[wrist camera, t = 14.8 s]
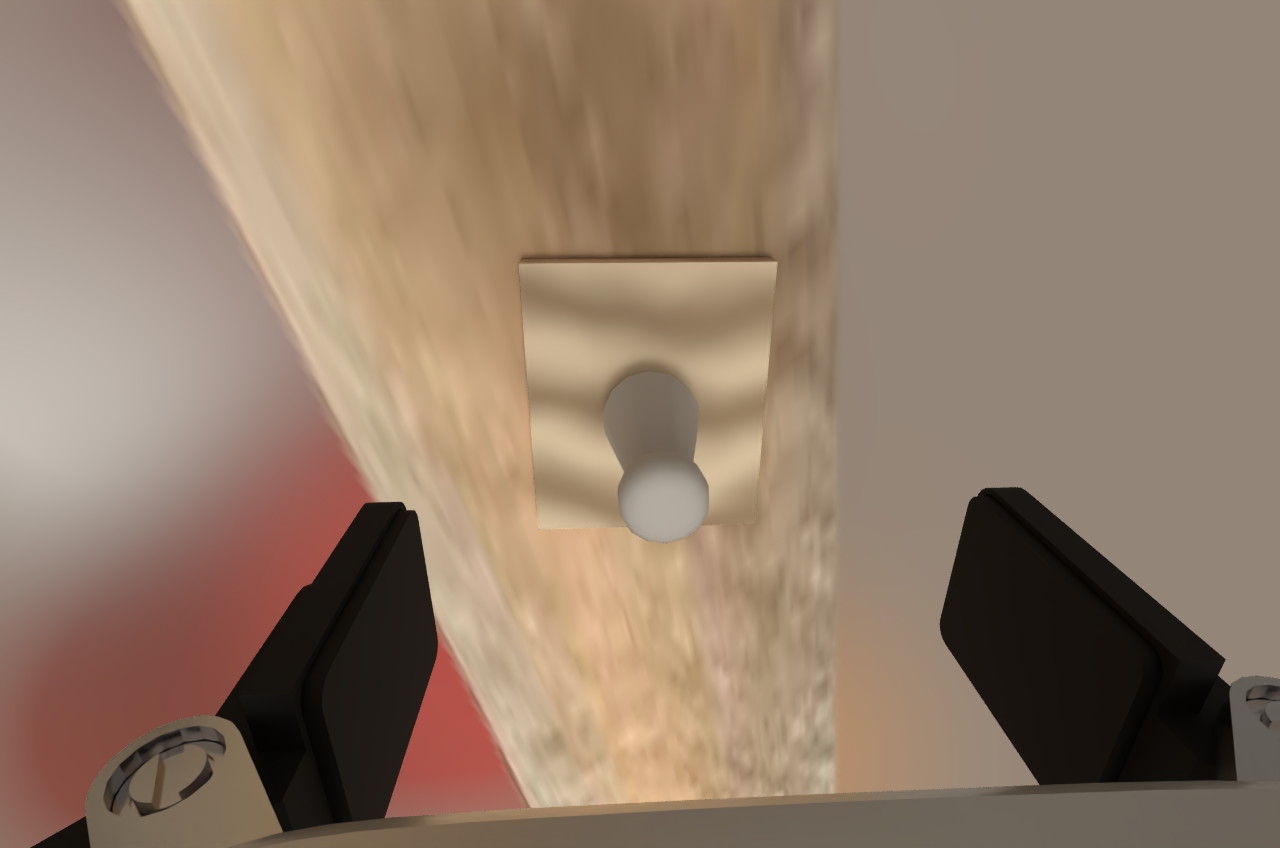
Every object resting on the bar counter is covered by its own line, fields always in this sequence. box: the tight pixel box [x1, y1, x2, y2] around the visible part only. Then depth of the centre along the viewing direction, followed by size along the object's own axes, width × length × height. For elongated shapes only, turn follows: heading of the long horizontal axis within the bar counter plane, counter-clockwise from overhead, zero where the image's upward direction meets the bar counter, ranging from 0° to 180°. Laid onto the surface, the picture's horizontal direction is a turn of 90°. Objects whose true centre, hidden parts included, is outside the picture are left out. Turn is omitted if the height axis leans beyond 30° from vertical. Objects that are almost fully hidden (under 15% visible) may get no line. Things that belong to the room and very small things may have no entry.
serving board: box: [519, 257, 777, 529], centre depth 42 cm, size 18×15×2 cm
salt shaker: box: [603, 371, 709, 543], centre depth 35 cm, size 6×6×13 cm
